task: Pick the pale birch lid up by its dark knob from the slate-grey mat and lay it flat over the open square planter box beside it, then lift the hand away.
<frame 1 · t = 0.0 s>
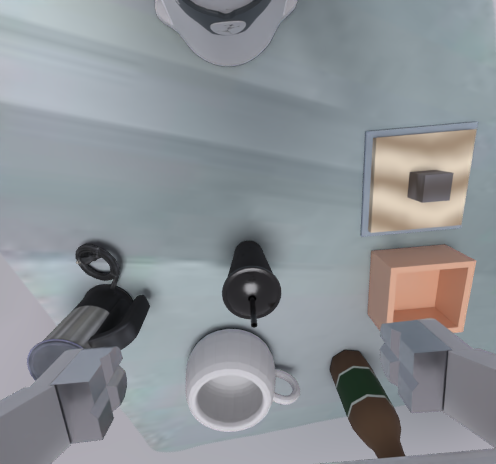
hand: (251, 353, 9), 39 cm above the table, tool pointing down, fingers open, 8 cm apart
mug: (243, 359, 57), on the table
milk frother: (106, 285, 51), on the table
slate mat: (414, 182, 47), on the table
open square planter box: (404, 280, 52), on the table
birch lid: (416, 182, 46), resting on slate mat
drinking cup: (248, 253, 50), on the table
beer bottle: (347, 363, 58), on the table
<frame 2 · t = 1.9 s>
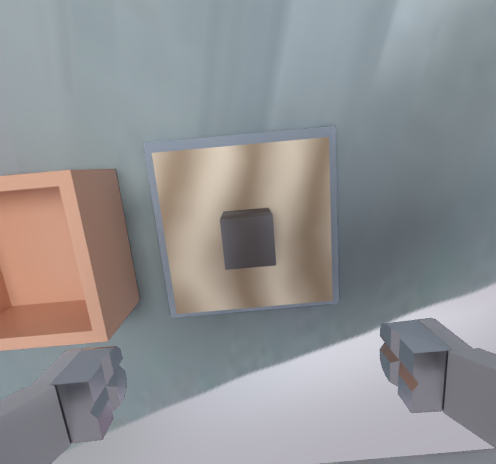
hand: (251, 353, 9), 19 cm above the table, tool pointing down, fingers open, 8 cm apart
slate mat: (247, 227, 27), on the table
open square planter box: (61, 244, 28), on the table
birch lid: (247, 228, 27), resting on slate mat
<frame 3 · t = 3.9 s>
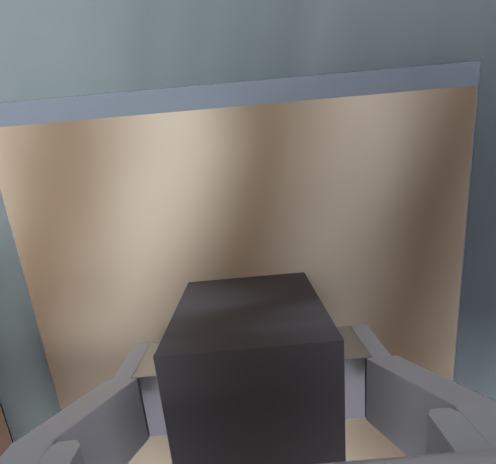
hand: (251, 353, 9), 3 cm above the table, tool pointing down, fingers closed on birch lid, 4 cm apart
slate mat: (249, 306, 12), on the table
birch lid: (250, 312, 11), resting on slate mat, touching gripper
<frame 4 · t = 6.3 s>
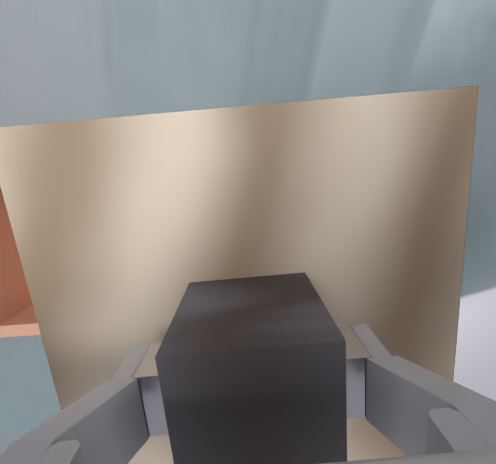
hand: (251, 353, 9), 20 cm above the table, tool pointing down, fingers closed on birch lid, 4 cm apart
open square planter box: (97, 233, 28), on the table
birch lid: (250, 312, 11), point 17 cm above the table, touching gripper
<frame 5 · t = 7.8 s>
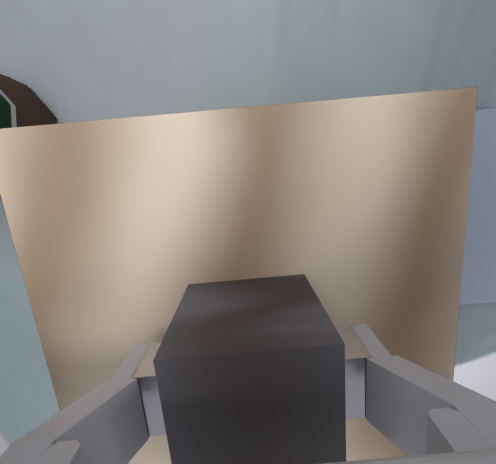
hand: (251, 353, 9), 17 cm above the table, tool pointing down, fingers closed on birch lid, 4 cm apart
slate mat: (451, 214, 25), on the table
birch lid: (250, 314, 11), point 14 cm above the table, touching gripper
beer bottle: (16, 131, 23), on the table
when the fingers open (11 cm above the table, at t = 9.0 s): birch lid drops 1 cm, resting on open square planter box.
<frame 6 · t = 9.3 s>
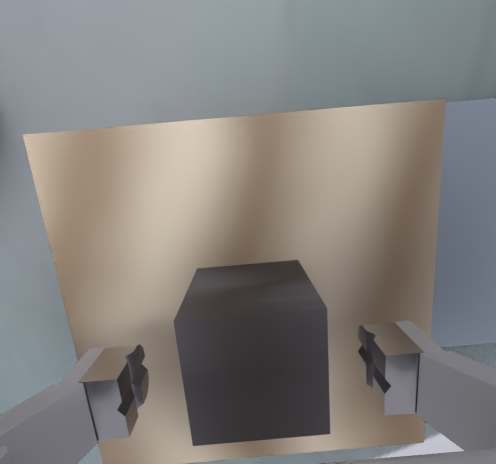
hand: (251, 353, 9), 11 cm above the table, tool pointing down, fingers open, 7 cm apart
birch lid: (250, 297, 13), point 7 cm above the table, touching open square planter box
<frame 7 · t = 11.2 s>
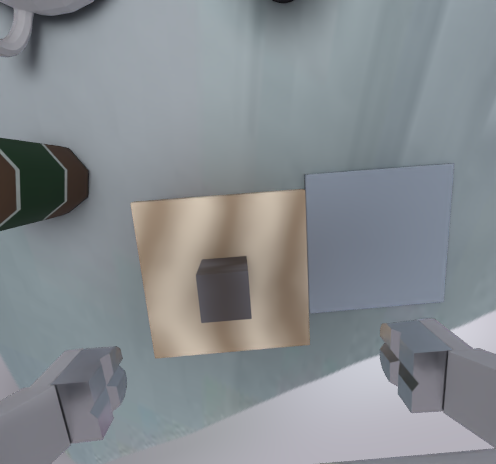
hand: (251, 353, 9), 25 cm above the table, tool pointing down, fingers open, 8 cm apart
slate mat: (376, 240, 35), on the table
birch lid: (226, 274, 27), point 7 cm above the table, touching open square planter box
beer bottle: (58, 179, 32), on the table
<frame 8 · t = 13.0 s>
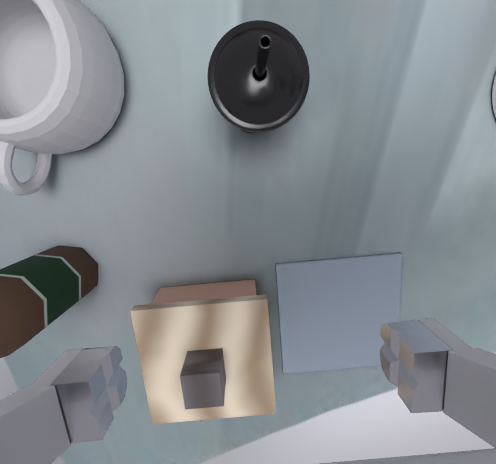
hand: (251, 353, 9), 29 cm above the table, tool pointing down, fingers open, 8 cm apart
mug: (59, 103, 34), on the table
slate mat: (338, 314, 41), on the table
open square planter box: (213, 325, 41), on the table
birch lid: (208, 358, 34), point 7 cm above the table, touching open square planter box
drinking cup: (252, 112, 35), on the table
beer bottle: (73, 270, 39), on the table
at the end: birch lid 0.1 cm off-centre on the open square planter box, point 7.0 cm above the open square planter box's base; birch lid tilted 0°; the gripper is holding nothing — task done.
